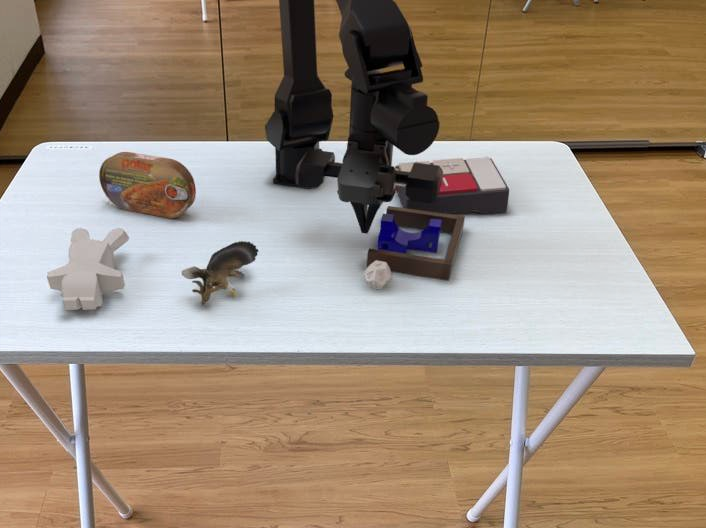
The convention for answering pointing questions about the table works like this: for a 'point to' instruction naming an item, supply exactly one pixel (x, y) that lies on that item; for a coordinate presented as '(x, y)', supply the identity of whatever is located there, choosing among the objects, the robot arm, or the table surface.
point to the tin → (147, 184)
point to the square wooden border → (421, 263)
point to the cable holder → (408, 237)
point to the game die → (378, 274)
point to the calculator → (463, 187)
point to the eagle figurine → (222, 269)
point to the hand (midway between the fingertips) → (365, 232)
